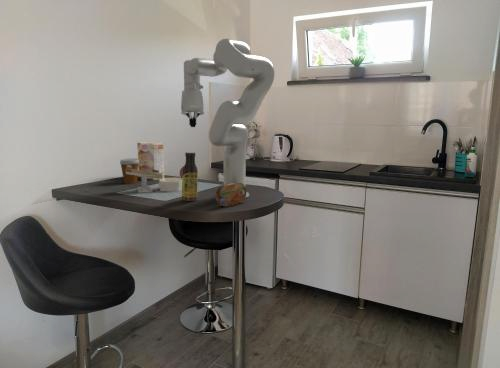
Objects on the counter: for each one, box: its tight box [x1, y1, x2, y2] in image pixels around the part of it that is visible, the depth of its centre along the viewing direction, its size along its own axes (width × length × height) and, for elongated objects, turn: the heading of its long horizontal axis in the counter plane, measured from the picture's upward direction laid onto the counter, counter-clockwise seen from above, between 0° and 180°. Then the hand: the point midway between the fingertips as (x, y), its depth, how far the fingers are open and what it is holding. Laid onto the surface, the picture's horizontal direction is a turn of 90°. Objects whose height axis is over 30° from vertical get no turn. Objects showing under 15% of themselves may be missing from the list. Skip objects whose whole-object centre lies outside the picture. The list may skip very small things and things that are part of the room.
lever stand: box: [136, 174, 153, 194], centre depth 170 cm, size 9×6×8 cm, turn 21°
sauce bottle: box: [181, 151, 199, 202], centre depth 151 cm, size 6×6×20 cm
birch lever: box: [126, 165, 163, 180], centre depth 173 cm, size 13×16×3 cm
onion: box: [179, 165, 199, 178], centre depth 193 cm, size 10×9×10 cm
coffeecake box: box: [137, 141, 165, 181], centre depth 205 cm, size 15×7×20 cm, turn 50°
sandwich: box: [215, 183, 247, 208], centre depth 146 cm, size 15×3×8 cm, turn 137°
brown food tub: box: [119, 158, 139, 184], centre depth 190 cm, size 10×10×12 cm
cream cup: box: [158, 177, 182, 192], centre depth 175 cm, size 11×11×4 cm
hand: (192, 126), depth 178 cm, fingers closed
